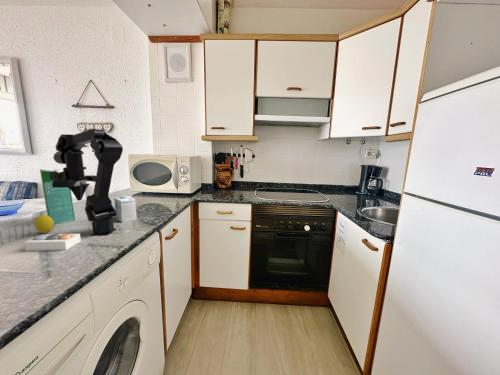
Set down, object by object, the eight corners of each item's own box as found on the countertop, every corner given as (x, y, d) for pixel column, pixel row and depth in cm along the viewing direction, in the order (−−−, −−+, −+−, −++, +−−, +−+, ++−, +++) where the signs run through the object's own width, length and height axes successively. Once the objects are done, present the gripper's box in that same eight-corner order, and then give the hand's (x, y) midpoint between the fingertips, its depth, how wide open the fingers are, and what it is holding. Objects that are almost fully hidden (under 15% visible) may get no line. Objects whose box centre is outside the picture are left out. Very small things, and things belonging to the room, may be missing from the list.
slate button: (50, 241, 76) (48, 234, 75) (42, 245, 73) (41, 237, 72) (41, 242, 76) (40, 234, 75) (33, 245, 73) (32, 237, 72)
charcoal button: (62, 241, 76) (61, 233, 76) (55, 245, 73) (53, 237, 73) (53, 241, 76) (52, 234, 76) (46, 245, 73) (44, 237, 73)
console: (44, 241, 78) (42, 234, 77) (80, 241, 79) (79, 233, 78) (25, 250, 71) (24, 242, 70) (66, 249, 72) (64, 241, 71)
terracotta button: (74, 241, 77) (73, 233, 76) (67, 245, 74) (66, 236, 73) (65, 241, 76) (64, 233, 76) (58, 245, 73) (57, 237, 73)
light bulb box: (115, 218, 106) (113, 197, 104) (130, 215, 111) (128, 195, 109) (122, 223, 99) (120, 200, 97) (137, 219, 104) (135, 198, 102)
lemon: (53, 230, 90) (50, 212, 88) (56, 233, 86) (53, 214, 85) (35, 233, 85) (32, 214, 84) (37, 237, 82) (33, 217, 80)
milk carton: (75, 220, 102) (67, 169, 98) (49, 224, 96) (40, 170, 91) (72, 216, 108) (65, 168, 104) (48, 220, 102) (39, 169, 97)
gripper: (71, 163, 98) (76, 196, 101) (34, 166, 80) (40, 205, 82) (96, 163, 99) (100, 195, 102) (64, 166, 81) (70, 205, 83)
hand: (79, 200), depth 92 cm, fingers closed
